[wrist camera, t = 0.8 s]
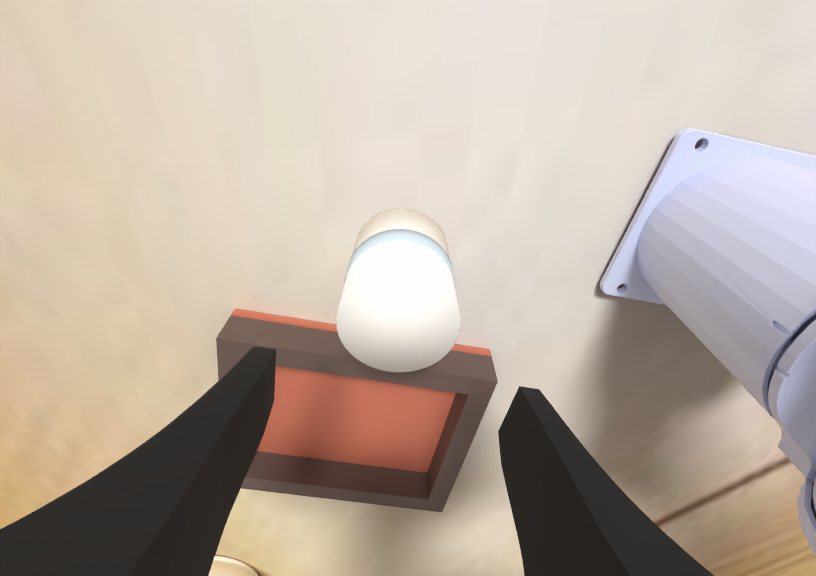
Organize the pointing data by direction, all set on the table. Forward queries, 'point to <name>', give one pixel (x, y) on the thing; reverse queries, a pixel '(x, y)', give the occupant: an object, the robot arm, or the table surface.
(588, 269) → the table surface
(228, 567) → the lidded bowl
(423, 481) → the lacquer tray
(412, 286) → the blue-banded white capsule
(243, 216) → the table surface
